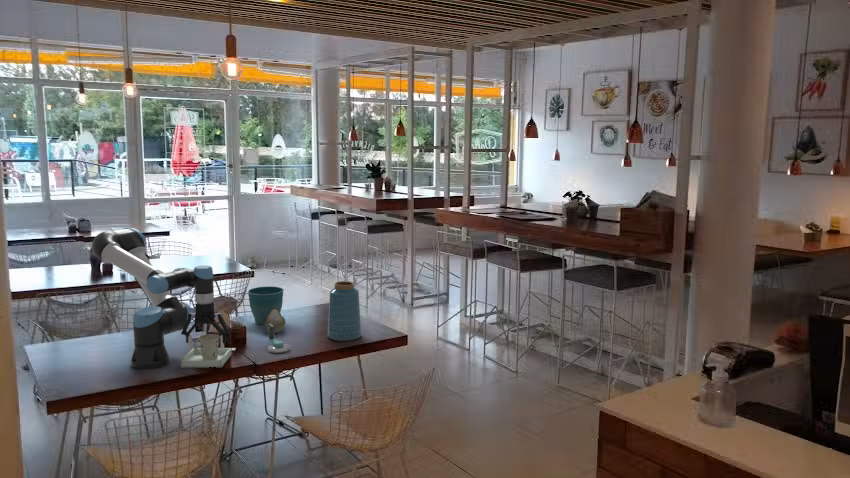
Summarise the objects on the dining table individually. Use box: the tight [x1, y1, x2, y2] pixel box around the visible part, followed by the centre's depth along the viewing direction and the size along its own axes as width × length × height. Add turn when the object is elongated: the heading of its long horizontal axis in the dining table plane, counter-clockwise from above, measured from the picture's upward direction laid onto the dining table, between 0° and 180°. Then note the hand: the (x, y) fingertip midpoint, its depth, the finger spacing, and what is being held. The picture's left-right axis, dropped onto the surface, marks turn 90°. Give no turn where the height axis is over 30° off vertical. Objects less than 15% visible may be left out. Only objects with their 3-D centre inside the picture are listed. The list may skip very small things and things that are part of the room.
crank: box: [268, 324, 285, 348], centre depth 305 cm, size 15×4×8 cm, turn 32°
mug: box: [193, 333, 220, 360], centre depth 286 cm, size 8×13×10 cm, turn 72°
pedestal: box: [267, 343, 291, 354], centre depth 302 cm, size 10×10×2 cm
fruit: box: [264, 307, 286, 334], centre depth 328 cm, size 10×9×12 cm
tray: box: [180, 347, 233, 369], centre depth 286 cm, size 17×17×3 cm
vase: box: [327, 280, 362, 342], centre depth 320 cm, size 16×16×27 cm
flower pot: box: [247, 285, 284, 326], centre depth 345 cm, size 18×18×17 cm
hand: (206, 350), depth 285 cm, fingers open, 13 cm apart
